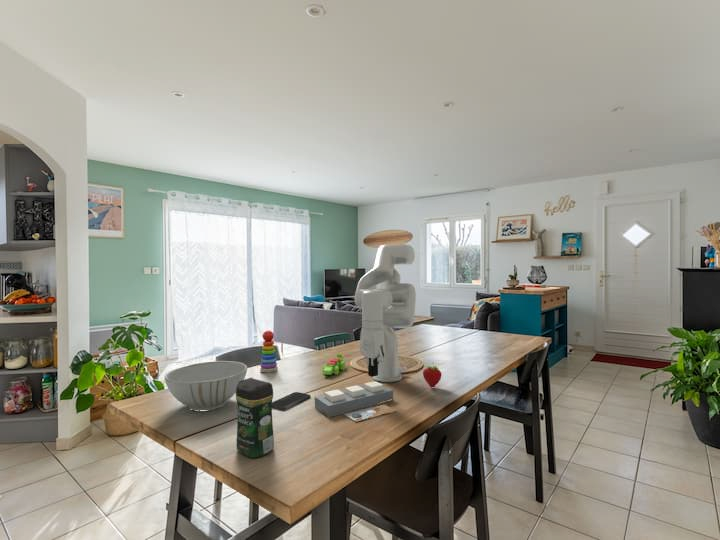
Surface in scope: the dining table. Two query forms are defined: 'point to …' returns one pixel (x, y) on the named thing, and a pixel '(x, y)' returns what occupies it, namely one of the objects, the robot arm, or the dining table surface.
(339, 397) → the button
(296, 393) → the phone
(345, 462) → the dining table surface
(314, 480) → the dining table surface
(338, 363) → the toy crocodile
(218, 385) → the decorative bowl
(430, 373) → the strawberry
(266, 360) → the stacking toy
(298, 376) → the dining table surface
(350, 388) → the middle button
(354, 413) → the pattern card
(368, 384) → the button
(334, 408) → the button board
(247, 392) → the coffee jar
